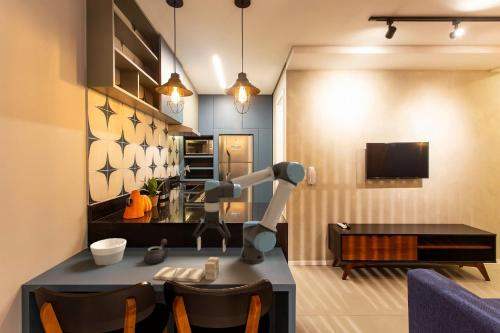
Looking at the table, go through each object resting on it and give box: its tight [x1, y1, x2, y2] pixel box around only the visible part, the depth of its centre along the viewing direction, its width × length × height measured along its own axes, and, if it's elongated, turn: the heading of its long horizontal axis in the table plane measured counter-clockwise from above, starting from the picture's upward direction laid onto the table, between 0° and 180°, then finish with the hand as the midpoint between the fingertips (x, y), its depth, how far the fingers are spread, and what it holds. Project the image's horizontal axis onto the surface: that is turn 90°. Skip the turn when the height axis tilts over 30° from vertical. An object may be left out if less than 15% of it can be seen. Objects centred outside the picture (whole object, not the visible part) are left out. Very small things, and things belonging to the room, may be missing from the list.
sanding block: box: [204, 256, 220, 282], centre depth 135 cm, size 9×5×8 cm, turn 172°
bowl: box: [90, 237, 127, 266], centre depth 155 cm, size 19×19×11 cm
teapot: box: [143, 238, 171, 265], centre depth 158 cm, size 19×15×10 cm
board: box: [153, 266, 205, 283], centre depth 136 cm, size 24×11×2 cm, turn 82°
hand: (211, 250), depth 134 cm, fingers open, 13 cm apart
